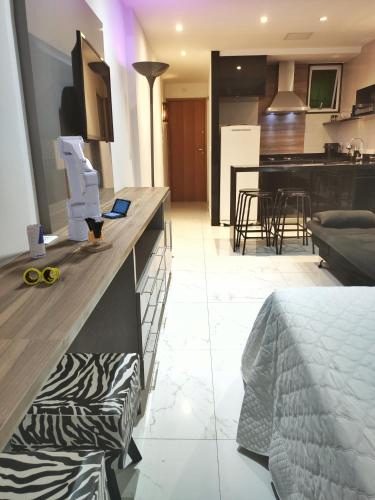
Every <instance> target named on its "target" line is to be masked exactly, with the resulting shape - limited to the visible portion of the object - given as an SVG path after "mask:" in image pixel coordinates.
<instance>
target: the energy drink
mask: <svg viewBox="0 0 375 500" xmlns="http://www.w3.org/2000/svg"><path fill="white" fill-rule="evenodd" d="M26 235H27V240H28V247H29V253H30V254H29V255H30V257H31V258H32V259H41V258H42V259H43V258H45V257H46V255H47V253H46V247H45V246H46V245H45V240H44V233H43V226H42V224H40V223H39V224H37V223H36V224H29V225H27V226H26Z"/></svg>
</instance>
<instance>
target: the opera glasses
mask: <svg viewBox="0 0 375 500" xmlns="http://www.w3.org/2000/svg"><path fill="white" fill-rule="evenodd" d="M33 271H34V272H36V273H37V274H38V277H37V278H32V277H31V276H30V274H31V272H33ZM51 272H52V273H53V276H52V273H51ZM60 276H61V272H60V269H58V268H56V267H50V266H49V267H45V268H44V269H43V270H42V272H41V271H40V270H38V269H37V268H33V267H32V268H31V267H30V268H28V269H26V270H25V271H24V273H23V277H22V278H23V281H24V282H25V283H26V284H27V285H31V286H32V285H37V284H38V283H39V282H40V281H41V279H42V280H43V282H45V283H46V284H53V283H54V282H55V281H57V279H58V278H59V277H60Z"/></svg>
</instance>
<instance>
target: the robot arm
mask: <svg viewBox="0 0 375 500" xmlns="http://www.w3.org/2000/svg"><path fill="white" fill-rule="evenodd" d="M56 141H57V142H56V145H57V151H58V155H59V158H60V159H62V160H63V161H64V163H65V169H66V174H67V178H68V179H67V180H68V184H69V191H70V196H71V197H70V198H69V199H68V200H67V201H66V203H65V205H66V207H65V208H66V214H67V216H66V217H67V218H68V219H69V220H68V221H67V226H66V227H67V234H68V237H67V240H69V241H70V240H71V241H78V242H84V241H87V240H88V241H89V239H88V231H92V230H93V234H94V237H95V239H97V238H100V237H101V230H102V229H103V226H104V224H105V221H104V220H103V219H102V216H101V214H102V213H101V212H102V211H101V202H100V193H99V192H100V191H99V186H100V184H101V179H100V173H99V171H98V170H96V169H94V168H93V166H92V164H91V162H90V160H89V158H86V157H85V154H84V149H85V142H84V141H85V140H84V139H83V137H82V136H81V135H77V136H75V135H74V136H70V135H69V136H61V135H59V136H58V137H57V139H56ZM102 231H103V230H102Z"/></svg>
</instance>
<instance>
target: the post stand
mask: <svg viewBox="0 0 375 500" xmlns="http://www.w3.org/2000/svg"><path fill="white" fill-rule="evenodd" d="M113 244H114V243H112V242H106V241H98V242H89V243H86V244H83V245H80V246H79V247H80V250H81V251H85V252H91V253H100V252H103V251H105V249H106V250H108V249H111V248H113ZM110 247H111V248H110Z"/></svg>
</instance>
